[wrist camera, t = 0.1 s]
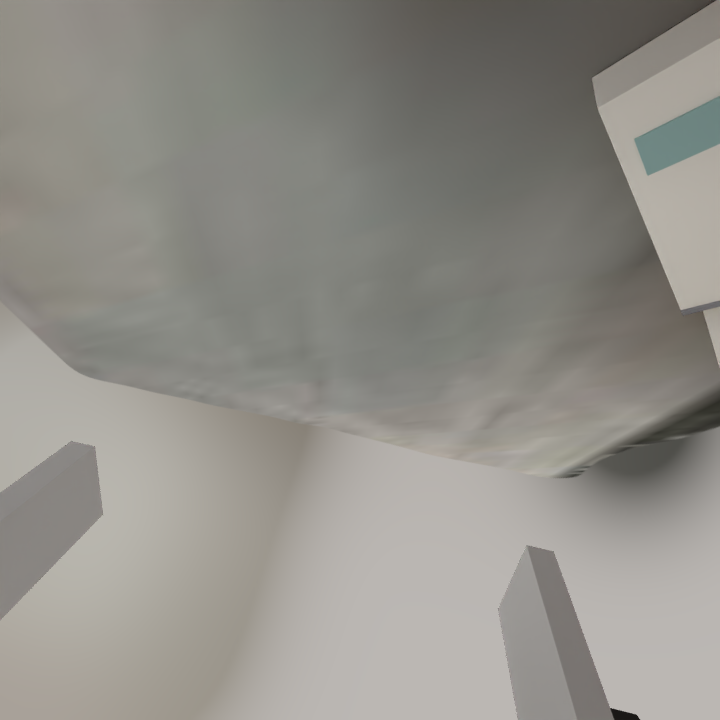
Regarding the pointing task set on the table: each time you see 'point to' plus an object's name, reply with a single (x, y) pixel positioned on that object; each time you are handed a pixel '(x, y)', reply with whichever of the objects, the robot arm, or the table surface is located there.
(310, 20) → the table surface
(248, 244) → the table surface
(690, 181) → the strip
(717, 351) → the stub
